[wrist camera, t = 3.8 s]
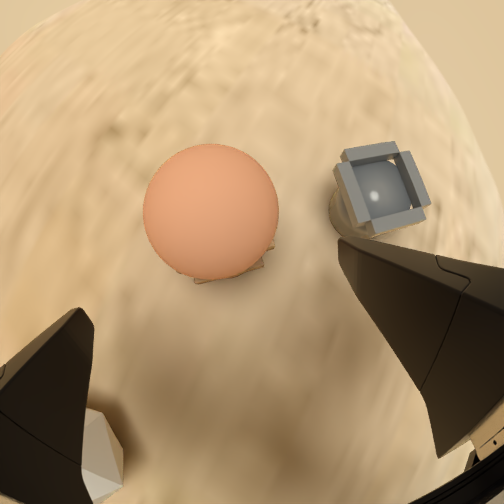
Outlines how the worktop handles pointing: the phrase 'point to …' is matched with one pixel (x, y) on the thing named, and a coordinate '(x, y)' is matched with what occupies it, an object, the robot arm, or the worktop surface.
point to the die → (101, 458)
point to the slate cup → (376, 191)
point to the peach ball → (210, 211)
